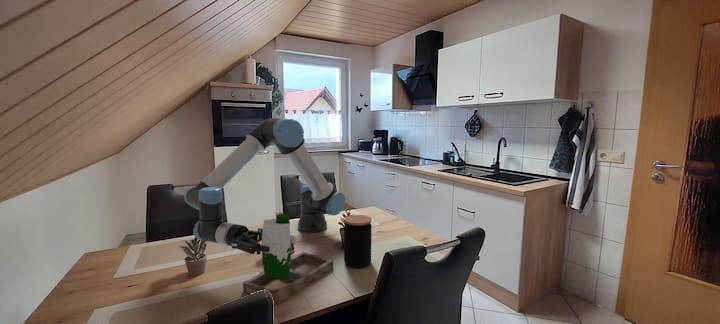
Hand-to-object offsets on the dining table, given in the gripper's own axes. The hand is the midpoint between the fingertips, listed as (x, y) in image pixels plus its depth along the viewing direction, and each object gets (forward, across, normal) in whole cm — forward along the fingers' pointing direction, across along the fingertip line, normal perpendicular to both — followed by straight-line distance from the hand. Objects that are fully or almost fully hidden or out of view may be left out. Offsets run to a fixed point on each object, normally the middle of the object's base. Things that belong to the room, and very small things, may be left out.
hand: (287, 245), depth 97 cm
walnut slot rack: (-4, -7, -16) cm, 17 cm away
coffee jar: (+13, -27, -16) cm, 34 cm away
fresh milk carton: (-5, 0, -11) cm, 12 cm away
